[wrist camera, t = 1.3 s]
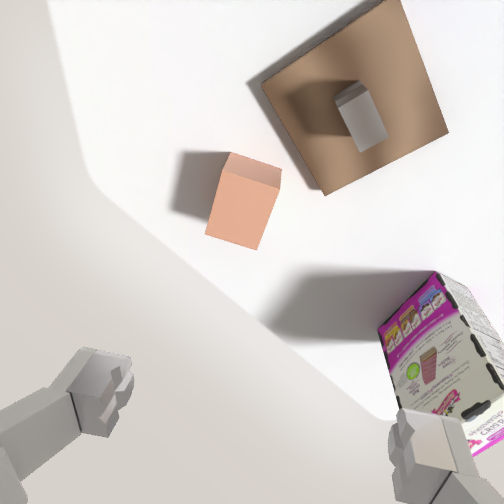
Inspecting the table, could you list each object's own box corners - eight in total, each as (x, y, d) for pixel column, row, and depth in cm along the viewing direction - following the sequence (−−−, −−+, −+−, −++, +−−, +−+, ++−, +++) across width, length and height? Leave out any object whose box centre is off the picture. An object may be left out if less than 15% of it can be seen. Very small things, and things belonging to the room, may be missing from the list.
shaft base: (323, 190, 38) (328, 217, 33) (262, 83, 33) (256, 96, 28) (443, 128, 34) (469, 149, 29) (393, -7, 29) (413, -10, 24)
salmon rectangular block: (214, 211, 41) (204, 234, 37) (230, 152, 37) (222, 170, 33) (260, 226, 41) (256, 250, 37) (281, 169, 37) (279, 189, 33)
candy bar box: (407, 343, 49) (451, 473, 35) (375, 329, 48) (407, 456, 34) (471, 286, 43) (553, 415, 29) (436, 268, 42) (504, 393, 28)
